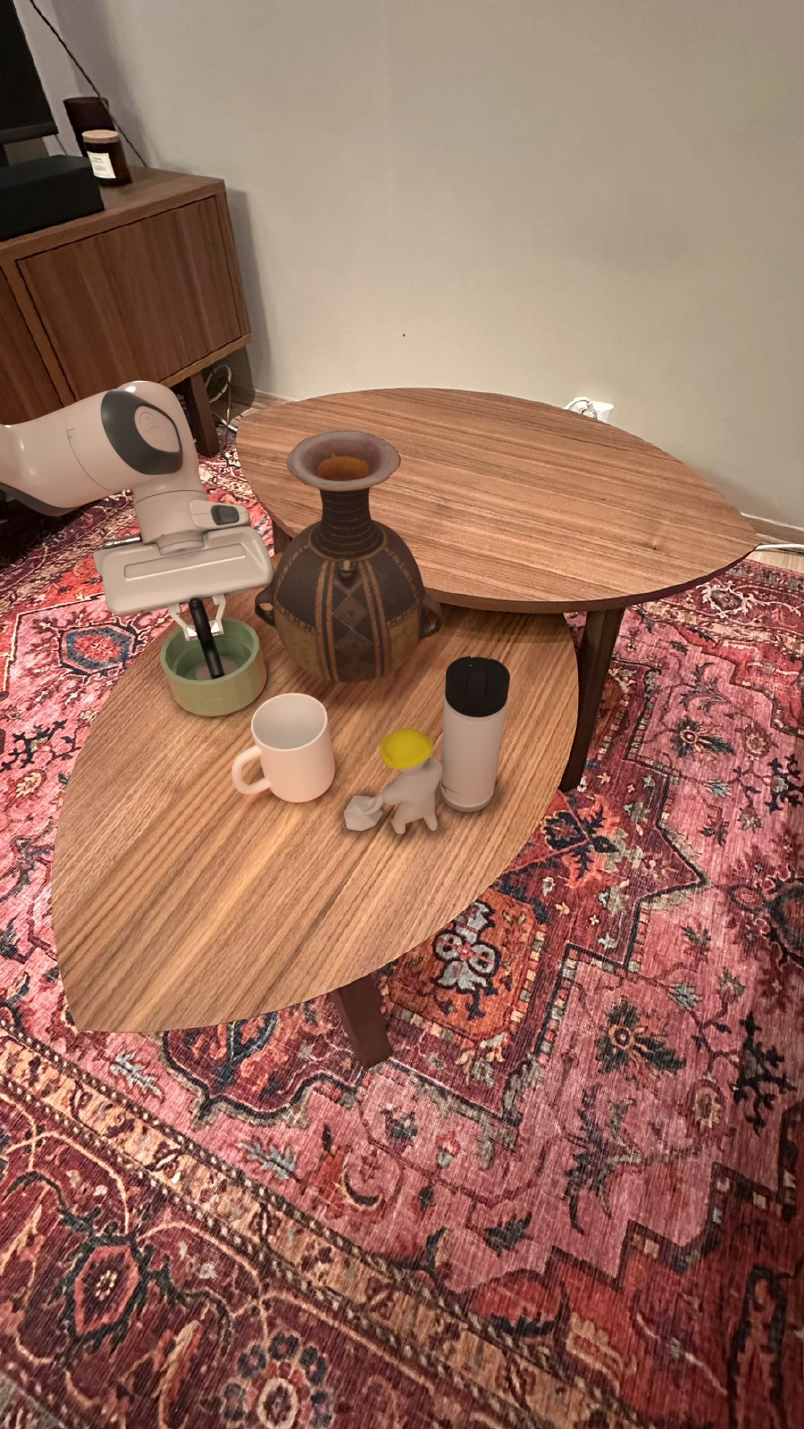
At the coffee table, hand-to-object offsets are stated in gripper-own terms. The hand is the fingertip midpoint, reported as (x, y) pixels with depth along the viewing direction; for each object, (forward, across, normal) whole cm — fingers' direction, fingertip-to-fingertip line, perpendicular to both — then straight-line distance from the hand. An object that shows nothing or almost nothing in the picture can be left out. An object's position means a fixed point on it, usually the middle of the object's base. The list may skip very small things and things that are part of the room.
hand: (205, 637), depth 85 cm
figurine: (+25, +16, -12) cm, 32 cm away
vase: (+7, +18, +6) cm, 21 cm away
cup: (+19, +5, -6) cm, 21 cm away
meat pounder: (+6, 0, +6) cm, 8 cm away
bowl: (+6, 0, +7) cm, 9 cm away
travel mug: (+25, +25, -12) cm, 37 cm away
